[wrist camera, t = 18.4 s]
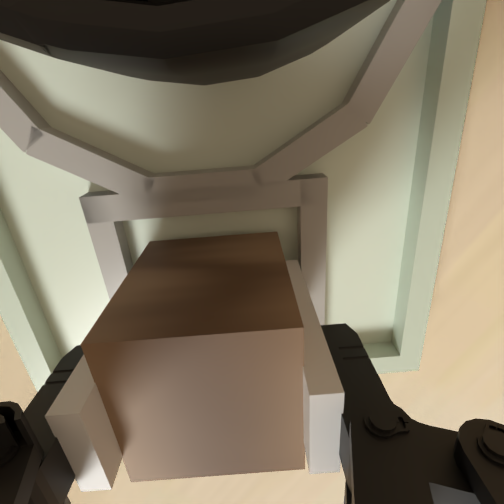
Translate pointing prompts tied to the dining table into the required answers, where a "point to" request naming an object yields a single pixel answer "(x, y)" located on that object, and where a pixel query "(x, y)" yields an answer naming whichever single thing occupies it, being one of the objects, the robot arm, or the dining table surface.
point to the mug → (180, 34)
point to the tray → (240, 176)
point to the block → (203, 360)
